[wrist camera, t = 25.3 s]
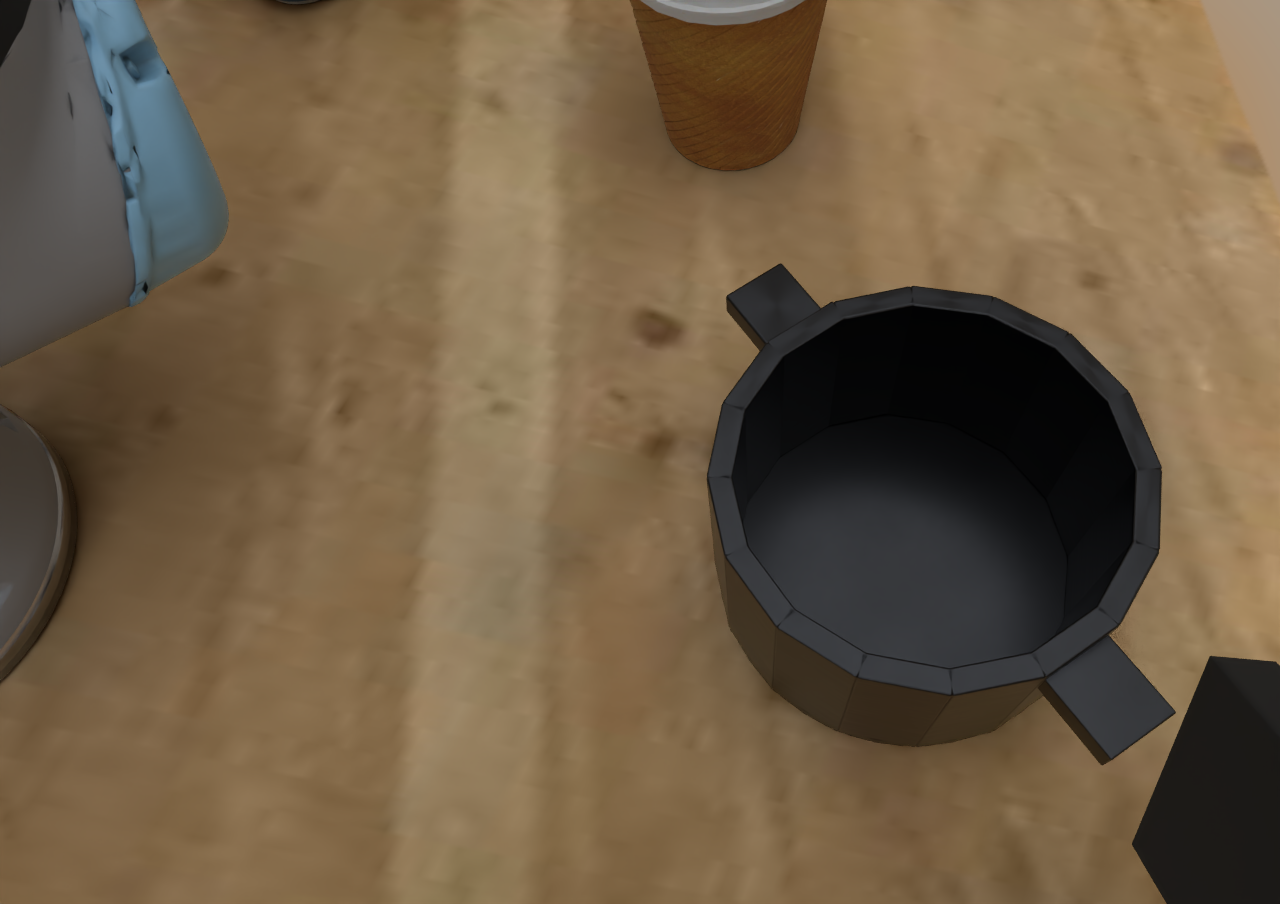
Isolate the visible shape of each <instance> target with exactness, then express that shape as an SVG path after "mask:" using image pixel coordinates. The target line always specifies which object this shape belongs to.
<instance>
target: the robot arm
mask: <svg viewBox="0 0 1280 904" xmlns="http://www.w3.org/2000/svg"><path fill="white" fill-rule="evenodd" d="M228 221H229V212H228V206H227V200H226V197H225V194H224V192H223V189H222V187H221V184H220V181H219V179H218V177H217V174H216V172H215V169H214V167H213V165H212V163H211V160H210V158H209V156H208V153H207V151H206V149H205V147H204V145H203V142H202V140H201V138H200V136H199V134H198V132H197V130H196V127H195V125H194V123H193V121H192V119H191V117H190V115H189V112H188V110H187V108H186V106H185V104H184V102H183V100H182V98H181V96H180V94H179V92H178V89H177V87H176V85H175V83H174V81H173V79H172V77H171V75H170V73H169V71H168V69H167V67H166V65H165V64H164V62H163V61H162V59H161V57H160V55H159V53H158V51H157V46H156V44H155V42H154V40H153V38H152V36H151V34H150V32H149V30H148V28H147V26H146V24H145V22H144V20H143V17H142V15H141V12H140V10H139V8H138V6H137V3H136V1H135V0H0V367H2V366H4V365H6V364H9V363H11V362H13V361H15V360H17V359H19V358H21V357H23V356H25V355H27V354H29V353H31V352H34V351H36V350H38V349H40V348H42V347H44V346H46V345H48V344H50V343H52V342H54V341H57V340H59V339H61V338H63V337H65V336H67V335H69V334H71V333H73V332H75V331H77V330H79V329H82V328H84V327H86V326H88V325H90V324H92V323H94V322H96V321H98V320H100V319H102V318H104V317H107V316H109V315H111V314H113V313H115V312H117V311H119V310H121V309H123V308H125V307H129V306H130V307H133V306H135V305H137V304H140V303H141V302H142V301H143V300H144V299H145V298H146V297H147V296H148V294H149V291H151V290H153V289H154V288H156V287H158V286H159V285H161V284H163V283H165V282H166V281H168V280H170V279H172V278H173V277H175V276H177V275H178V274H180V273H182V272H184V271H185V270H187V269H189V268H191V267H192V266H194V265H196V264H197V263H199V262H201V261H203V260H204V259H206V258H207V257H208V256H209V255H211V254H212V253H213V252H214V251H215V250H216V249H217V248H218V246H219V245H220V244H221V242H222V240H223V239H224V236H225V234H226V231H227V227H228ZM76 533H77V509H76V501H75V495H74V490H73V486H72V483H71V479H70V476H69V474H68V472H67V469H66V467H65V464H64V463H63V461H62V459H61V458H60V456H59V454H58V452H57V451H56V450H55V448H54V447H53V446H52V445H51V443H50V442H49V441H48V440H47V439H46V438H45V437H44V436H43V435H42V434H41V433H40V432H39V431H38V430H36V429H35V428H34V427H32V426H31V425H30V424H28V423H27V422H26V421H24V420H23V419H22V418H20V417H19V416H18V415H16V414H15V413H14V412H12V411H11V410H9V409H8V408H6V407H4V406H2V405H1V404H0V681H1V680H2V679H3V678H4V677H5V676H6V675H7V674H8V673H9V672H10V671H11V670H12V669H13V667H14V666H15V665H16V664H17V663H18V662H19V661H20V660H21V658H22V657H23V656H24V655H25V653H26V652H27V651H28V650H29V648H30V647H31V646H32V644H33V643H34V642H35V640H36V639H37V637H38V636H39V634H40V633H41V631H42V630H43V628H44V627H45V625H46V623H47V621H48V620H49V618H50V616H51V614H52V612H53V611H54V609H55V607H56V604H57V602H58V600H59V598H60V596H61V593H62V591H63V588H64V586H65V583H66V580H67V577H68V574H69V571H70V567H71V563H72V559H73V555H74V549H75V543H76ZM1132 845H1133V847H1134V849H1135V851H1136V852H1137V854H1138V856H1139V857H1140V859H1141V861H1142V862H1143V864H1144V866H1145V868H1146V869H1147V871H1148V873H1149V874H1150V876H1151V878H1152V879H1153V881H1154V883H1155V885H1156V886H1157V888H1158V890H1159V891H1160V893H1161V895H1162V897H1163V898H1164V900H1165V902H1166V903H1167V904H1280V666H1279V665H1278V664H1277V663H1276V662H1273V661H1261V660H1250V659H1239V658H1227V657H1216V656H1210V657H1209V660H1208V662H1207V664H1206V667H1205V669H1204V672H1203V674H1202V676H1201V679H1200V681H1199V684H1198V686H1197V688H1196V691H1195V693H1194V696H1193V698H1192V701H1191V703H1190V705H1189V708H1188V710H1187V713H1186V715H1185V717H1184V720H1183V722H1182V725H1181V727H1180V729H1179V732H1178V734H1177V737H1176V739H1175V741H1174V744H1173V746H1172V749H1171V751H1170V753H1169V756H1168V758H1167V761H1166V763H1165V765H1164V768H1163V770H1162V773H1161V775H1160V778H1159V780H1158V782H1157V785H1156V787H1155V790H1154V792H1153V794H1152V797H1151V799H1150V802H1149V804H1148V806H1147V809H1146V811H1145V814H1144V816H1143V818H1142V821H1141V823H1140V826H1139V828H1138V830H1137V833H1136V835H1135V838H1134V840H1133V843H1132Z"/></svg>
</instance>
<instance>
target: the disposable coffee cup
mask: <svg viewBox="0 0 1280 904" xmlns="http://www.w3.org/2000/svg"><path fill="white" fill-rule="evenodd" d="M630 2H631V5H632V7H633V13H634V16H635V18H636V19H637V20H636V24H637V27H638V29H639V33H640V37H641V40H642V42H643V43H642V45H643V48H644V51H645V55H646V58H647V61H648V66H649V69H650V72H651V77H652V79H653V82H654V87H655V90H656V92H657V97H658V100H659V102H660V103H659V104H660V107H661V110H662V115H663V118H664V120H665V121H664V122H665V125H666V129H667V133H668V136H669V138H670V140H671V142H672V144H673V145H674V146H675V148H676V149H677V150H678V151H679V152H680V153H681V154H682V155H684V156H685V157H686V158H687V159H689V160H691V161H693V162H695V163H697V164H699V165H702V166H705V167H708V168H712V169H720V170H741V169H747V168H751V167H754V166H757V165H761V164H763V163H765V162H767V161H769V160H771V159H773V158H774V157H776V156H777V155H778V154H780V153H781V152H782V151H783V150H784V149H785V148H786V147H787V146H788V145H789V144H790V142H791V141H792V139H793V137H794V136H795V134H796V132H797V128H798V124H799V120H800V115H801V111H802V106H803V102H804V97H805V93H806V89H807V84H808V80H809V76H810V71H811V67H812V63H813V59H814V54H815V50H816V46H817V42H818V37H819V32H820V28H821V24H822V21H823V16H824V12H825V7H826V2H827V0H630Z"/></svg>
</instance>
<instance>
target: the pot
mask: <svg viewBox="0 0 1280 904" xmlns="http://www.w3.org/2000/svg"><path fill="white" fill-rule="evenodd" d="M726 303H727V312H728V313H729V314H730V315H731V316H732V318H733V319H734V320H735V321H736V322H737V324H738V325H739V326H740V327H741V329H742V330H743V331H744V332H745V333H746V335H747V336H748V337H749V338H750V339H751V341H752V342H753V343H754V344H755V345H756V347H757V348H758V349H759V350H760V352H759V353H758V355H757V356H756V358H755V359H754V360H753V362H752V363H751V364H750V366H749V367H748V369H747V370H746V371H745V373H744V374H743V375H742V377H741V378H740V380H739V381H738V382H737V384H736V385H735V386H734V388H733V389H732V391H731V392H730V393H729V395H728V396H727V397H726V399H725V400H724V401H723V404H722V407H721V411H720V416H719V421H718V426H717V430H716V435H715V440H714V445H713V449H712V454H711V459H710V463H709V468H708V473H707V485H708V496H709V506H710V516H711V526H712V536H713V547H714V557H715V565H716V569H717V574H718V578H719V583H720V587H721V593H722V599H723V602H724V606H725V610H726V615H727V619H728V624H729V627H730V630H731V632H732V633H733V634H734V636H735V637H736V639H737V640H738V642H739V644H740V645H741V647H742V649H743V650H744V652H745V654H746V655H747V657H748V659H749V660H750V662H751V663H752V664H753V666H754V667H755V668H756V669H757V671H758V672H759V673H760V674H761V676H762V677H763V678H764V679H765V680H766V682H767V683H768V684H769V685H770V687H771V688H772V689H773V690H774V691H776V692H777V693H779V694H780V695H781V696H782V697H783V698H784V699H786V700H787V701H788V702H790V703H791V704H792V705H794V706H795V707H796V708H798V709H799V710H800V711H802V712H803V713H805V714H806V715H808V716H810V717H812V718H813V719H815V720H817V721H819V722H821V723H822V724H824V725H826V726H828V727H831V728H833V729H834V730H836V731H839V732H842V733H845V734H848V735H850V736H854V737H858V738H862V739H865V740H869V741H873V742H878V743H886V744H893V745H900V746H912V747H915V746H916V747H919V746H927V745H935V744H943V743H950V742H955V741H958V740H962V739H966V738H970V737H973V736H977V735H980V734H985V733H990V732H991V731H994V730H996V729H997V728H999V727H1000V726H1001V725H1003V724H1004V723H1006V722H1007V721H1008V720H1010V719H1011V718H1013V717H1014V716H1016V715H1018V714H1019V713H1021V712H1022V711H1023V710H1024V709H1025V708H1027V707H1028V706H1029V705H1031V704H1032V703H1034V702H1035V701H1036V700H1038V699H1039V698H1041V697H1042V696H1043V695H1044V696H1045V698H1046V699H1047V700H1048V701H1049V702H1050V704H1051V705H1052V706H1053V707H1054V708H1055V710H1056V711H1057V712H1058V713H1059V715H1060V716H1061V717H1062V718H1063V719H1064V721H1065V722H1066V723H1067V724H1068V725H1069V727H1070V728H1071V729H1072V730H1073V732H1074V733H1075V734H1076V735H1077V736H1078V738H1079V739H1080V740H1081V741H1082V742H1083V744H1084V745H1085V746H1086V747H1087V748H1088V750H1089V751H1090V752H1091V753H1092V755H1093V756H1094V757H1095V758H1096V759H1097V761H1098V762H1099V763H1100V764H1101V765H1104V764H1106V763H1107V762H1109V761H1111V760H1113V759H1114V758H1115V757H1117V756H1118V755H1119V754H1121V753H1122V752H1124V751H1125V750H1126V749H1128V748H1129V747H1130V746H1132V745H1133V744H1134V743H1136V742H1137V741H1139V740H1140V739H1141V738H1143V737H1144V736H1145V735H1147V734H1148V733H1149V732H1151V731H1152V730H1154V729H1155V728H1156V727H1158V726H1159V725H1160V724H1162V723H1163V722H1164V721H1166V720H1167V719H1169V718H1170V717H1171V716H1173V715H1174V714H1175V713H1176V712H1175V710H1174V709H1173V708H1172V707H1171V706H1170V705H1169V703H1168V702H1167V701H1166V700H1165V699H1164V698H1163V697H1162V695H1161V694H1160V693H1159V692H1158V691H1157V690H1156V689H1155V687H1154V686H1153V685H1152V684H1151V683H1150V682H1149V681H1148V679H1147V678H1146V677H1145V676H1144V675H1143V674H1142V673H1141V671H1140V670H1139V669H1138V668H1137V667H1136V666H1135V665H1134V664H1133V662H1132V661H1131V660H1130V659H1129V658H1128V657H1127V656H1126V654H1125V653H1124V652H1123V651H1122V650H1121V649H1120V648H1119V646H1118V645H1117V644H1116V643H1115V642H1114V641H1113V640H1112V638H1111V637H1110V636H1109V635H1110V634H1111V633H1112V632H1113V631H1115V630H1116V629H1117V628H1118V626H1119V625H1120V624H1121V623H1122V621H1123V619H1124V617H1125V615H1126V613H1127V612H1128V610H1129V608H1130V606H1131V604H1132V602H1133V600H1134V599H1135V597H1136V595H1137V593H1138V591H1139V589H1140V588H1141V586H1142V584H1143V582H1144V580H1145V578H1146V576H1147V575H1148V573H1149V571H1150V569H1151V567H1152V565H1153V563H1154V562H1155V560H1156V558H1157V556H1158V554H1159V549H1160V522H1161V485H1162V471H1161V468H1162V467H1161V464H1160V462H1159V460H1158V457H1157V455H1156V453H1155V451H1154V448H1153V446H1152V444H1151V441H1150V439H1149V437H1148V434H1147V432H1146V430H1145V427H1144V425H1143V423H1142V420H1141V418H1140V416H1139V413H1138V411H1137V409H1136V406H1135V404H1134V402H1133V399H1132V397H1131V395H1130V393H1129V392H1128V390H1127V389H1126V388H1125V387H1124V386H1123V385H1122V384H1121V383H1120V382H1119V381H1118V380H1117V379H1116V378H1115V377H1114V376H1113V375H1112V374H1111V373H1110V372H1109V371H1108V370H1107V369H1106V368H1105V367H1104V366H1103V365H1102V364H1101V363H1100V362H1099V361H1098V360H1097V359H1096V358H1095V357H1094V356H1093V355H1092V354H1091V353H1090V352H1089V351H1088V350H1087V349H1086V348H1085V347H1084V346H1083V345H1082V344H1081V343H1080V342H1079V341H1078V340H1077V339H1076V338H1075V337H1074V336H1073V335H1072V334H1070V333H1068V332H1067V331H1065V330H1063V329H1061V328H1059V327H1057V326H1055V325H1053V324H1051V323H1048V322H1046V321H1044V320H1042V319H1040V318H1038V317H1036V316H1034V315H1032V314H1030V313H1028V312H1026V311H1023V310H1021V309H1019V308H1017V307H1015V306H1013V305H1011V304H1009V303H1007V302H1005V301H1003V300H1001V299H998V298H996V297H993V296H989V295H981V294H973V293H965V292H957V291H949V290H941V289H933V288H925V287H918V286H912V287H904V288H899V289H894V290H889V291H884V292H879V293H874V294H869V295H864V296H860V297H855V298H850V299H845V300H840V301H835V302H834V303H833V302H831V303H829V304H828V305H826V306H824V307H823V308H820V307H819V306H818V304H817V303H816V302H815V301H814V300H813V299H812V298H811V296H810V295H809V294H808V293H807V292H806V291H805V290H804V288H803V287H802V286H801V285H800V284H799V283H798V282H797V281H796V279H795V278H794V277H793V276H792V275H791V274H790V273H789V271H788V270H787V269H786V268H785V267H784V266H783V265H782V264H778V265H777V266H775V267H773V268H772V269H770V270H768V271H767V272H765V273H763V274H762V275H760V276H758V277H757V278H755V279H754V280H752V281H750V282H749V283H747V284H745V285H744V286H742V287H740V288H739V289H737V290H735V291H734V292H732V293H730V294H729V295H727V297H726Z"/></svg>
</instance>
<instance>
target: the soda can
mask: <svg viewBox="0 0 1280 904" xmlns="http://www.w3.org/2000/svg"><path fill="white" fill-rule="evenodd" d="M277 1H280V2H283V3H288V4H306V3H312V2H316V1H319V0H277Z"/></svg>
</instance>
